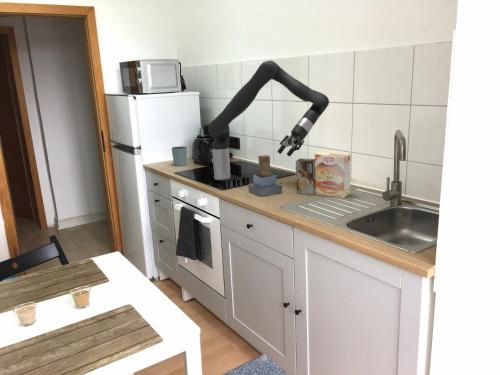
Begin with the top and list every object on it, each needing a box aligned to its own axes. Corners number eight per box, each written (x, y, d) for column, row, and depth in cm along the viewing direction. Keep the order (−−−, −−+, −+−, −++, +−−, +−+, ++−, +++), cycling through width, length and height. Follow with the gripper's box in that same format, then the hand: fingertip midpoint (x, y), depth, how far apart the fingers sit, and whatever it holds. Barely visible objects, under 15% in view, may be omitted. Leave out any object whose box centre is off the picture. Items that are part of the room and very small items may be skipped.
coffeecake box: (314, 194, 202) (314, 153, 197) (321, 190, 208) (321, 151, 203) (344, 198, 193) (344, 156, 188) (350, 194, 199) (351, 153, 194)
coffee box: (318, 191, 206) (318, 159, 202) (314, 195, 201) (313, 161, 197) (300, 190, 211) (300, 158, 207) (295, 193, 205) (295, 160, 201)
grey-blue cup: (175, 163, 291) (173, 146, 288) (189, 163, 290) (188, 145, 287) (171, 166, 281) (169, 148, 278) (186, 166, 280) (184, 148, 277)
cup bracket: (248, 191, 212) (247, 175, 210) (269, 187, 218) (268, 171, 215) (260, 197, 202) (260, 179, 200) (282, 192, 207) (281, 175, 205)
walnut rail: (259, 184, 210) (258, 156, 206) (266, 182, 211) (265, 155, 208) (263, 185, 206) (262, 157, 203) (270, 184, 208) (269, 156, 204)
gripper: (289, 122, 217) (271, 147, 215) (306, 125, 205) (286, 151, 203) (298, 132, 221) (280, 156, 219) (315, 135, 209) (296, 161, 207)
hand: (283, 154), depth 211 cm, fingers open, 8 cm apart
